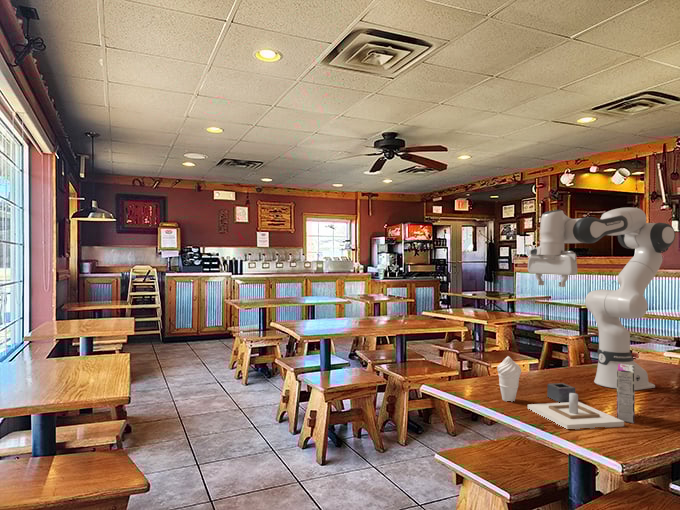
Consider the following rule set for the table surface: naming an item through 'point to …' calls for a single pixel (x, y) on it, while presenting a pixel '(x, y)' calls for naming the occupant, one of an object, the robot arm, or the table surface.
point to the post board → (575, 414)
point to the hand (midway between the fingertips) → (551, 286)
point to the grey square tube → (559, 391)
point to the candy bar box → (625, 393)
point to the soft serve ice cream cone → (508, 378)
